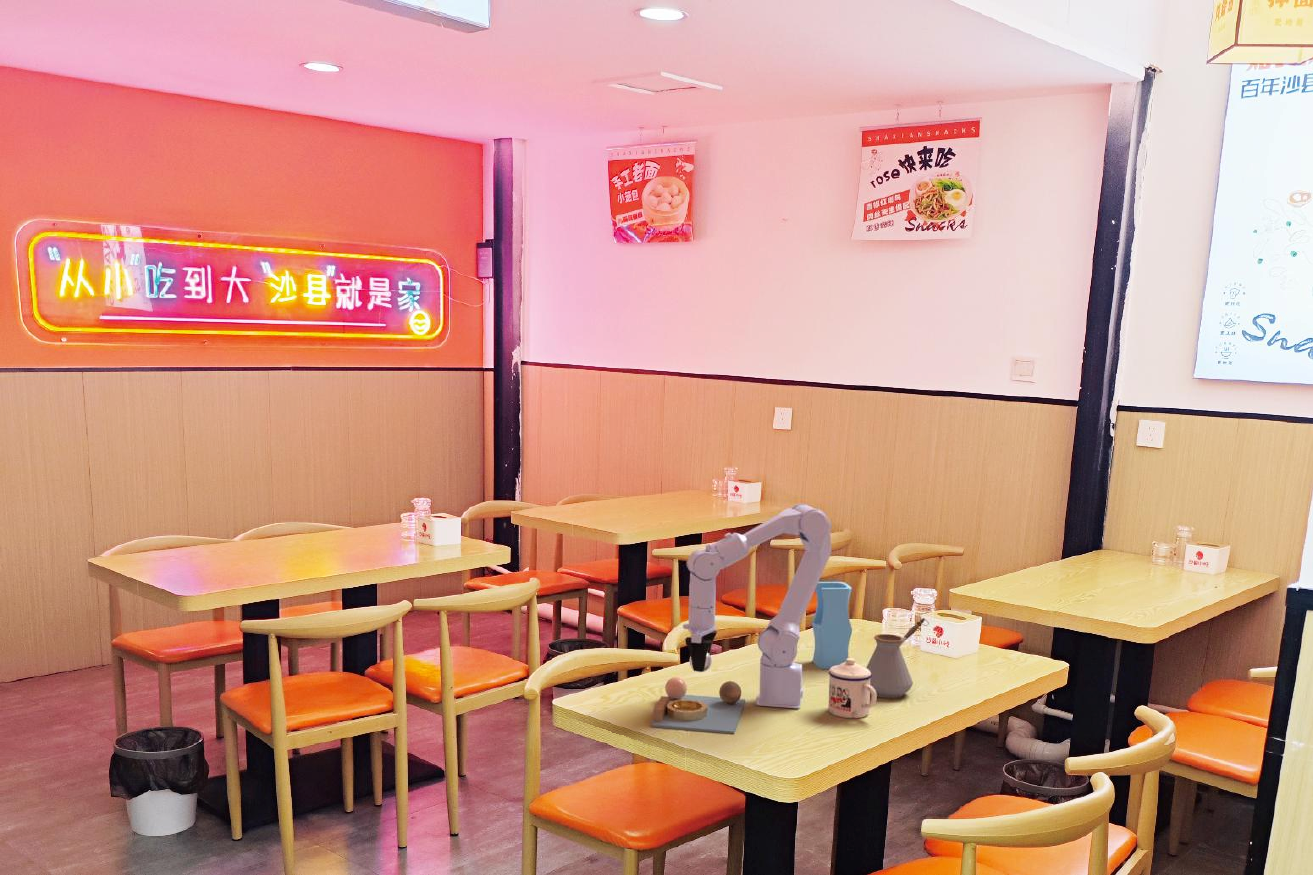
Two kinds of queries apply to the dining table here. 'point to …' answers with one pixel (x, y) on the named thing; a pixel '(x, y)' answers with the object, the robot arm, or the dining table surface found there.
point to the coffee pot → (890, 665)
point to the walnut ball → (730, 692)
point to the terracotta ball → (675, 688)
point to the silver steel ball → (707, 663)
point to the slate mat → (717, 719)
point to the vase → (831, 624)
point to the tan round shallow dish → (686, 710)
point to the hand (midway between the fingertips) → (700, 667)
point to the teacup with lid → (850, 690)
